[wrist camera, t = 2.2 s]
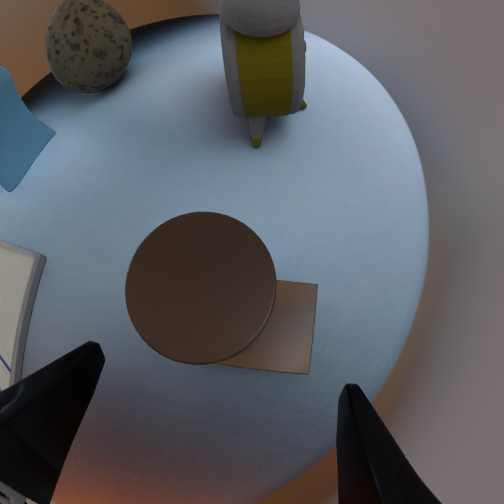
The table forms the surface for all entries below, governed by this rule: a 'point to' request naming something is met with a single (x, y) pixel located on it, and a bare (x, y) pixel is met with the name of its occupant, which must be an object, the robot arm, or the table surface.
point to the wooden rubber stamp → (218, 297)
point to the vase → (17, 134)
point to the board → (16, 306)
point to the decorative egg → (87, 45)
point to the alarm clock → (263, 59)
